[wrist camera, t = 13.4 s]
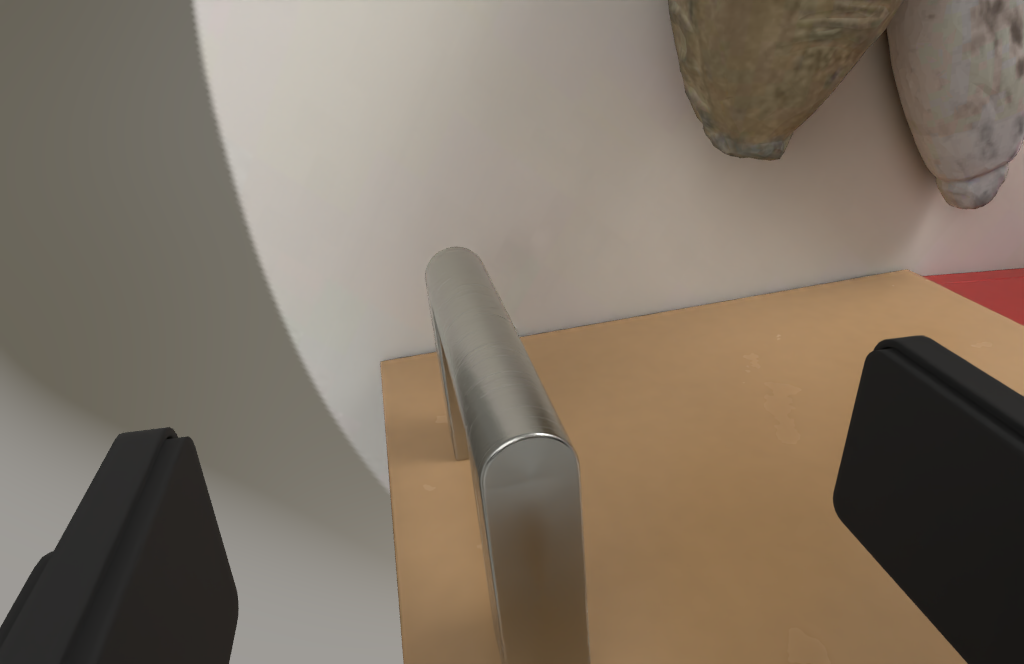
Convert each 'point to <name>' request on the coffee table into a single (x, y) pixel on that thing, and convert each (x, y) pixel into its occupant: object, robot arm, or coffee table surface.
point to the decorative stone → (962, 90)
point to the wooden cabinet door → (653, 477)
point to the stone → (768, 63)
